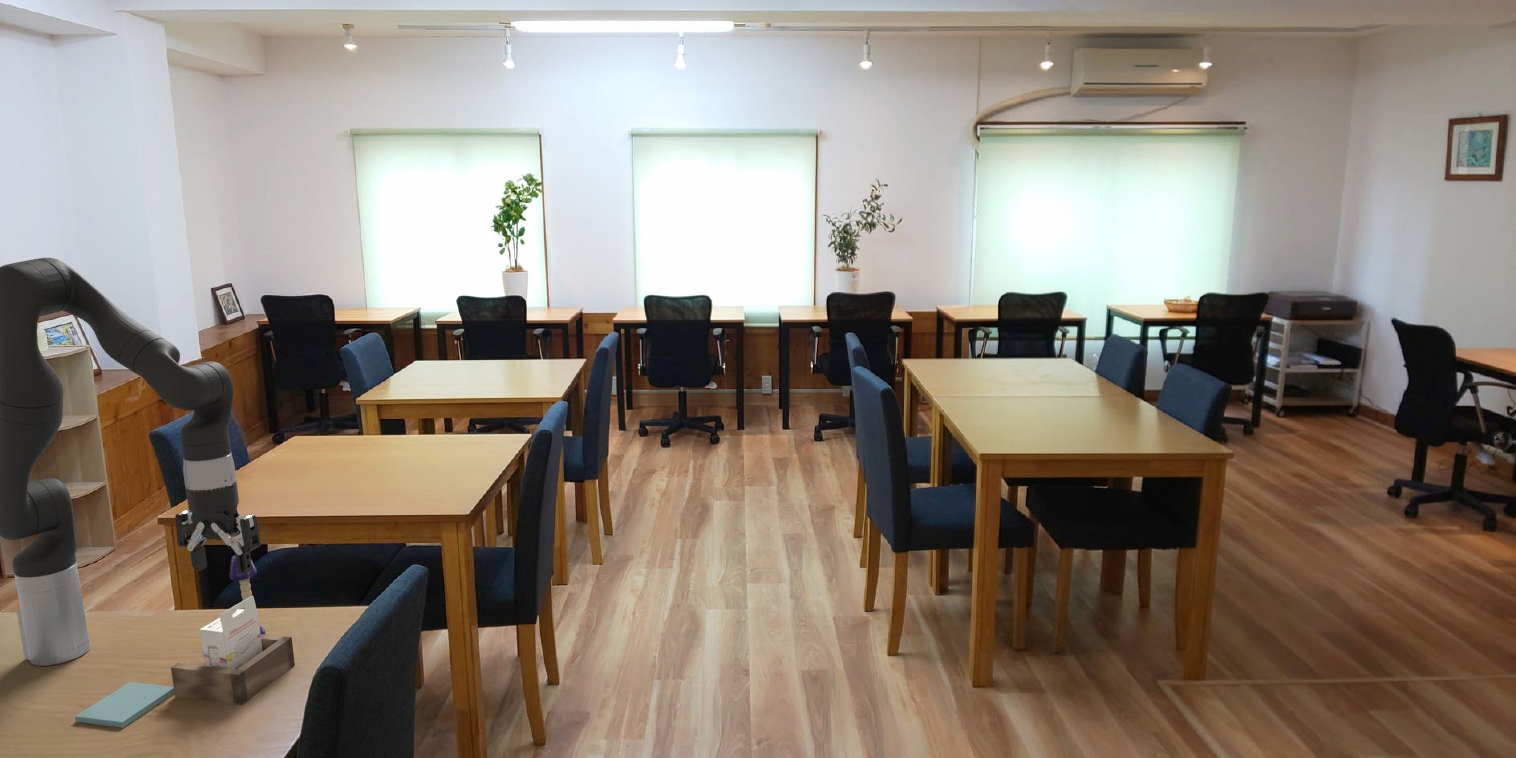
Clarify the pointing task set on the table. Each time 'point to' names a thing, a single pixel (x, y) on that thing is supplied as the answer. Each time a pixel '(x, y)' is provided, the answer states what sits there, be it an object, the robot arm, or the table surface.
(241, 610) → the ink cartridge box
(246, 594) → the toy lamp
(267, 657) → the walnut cubby
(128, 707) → the teal coaster
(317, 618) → the table surface
